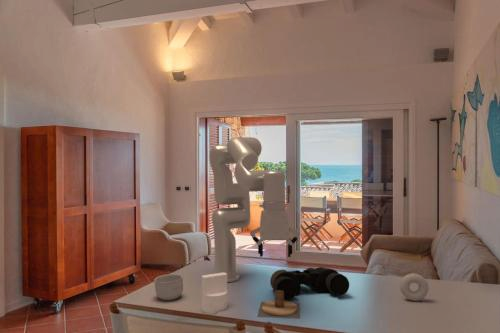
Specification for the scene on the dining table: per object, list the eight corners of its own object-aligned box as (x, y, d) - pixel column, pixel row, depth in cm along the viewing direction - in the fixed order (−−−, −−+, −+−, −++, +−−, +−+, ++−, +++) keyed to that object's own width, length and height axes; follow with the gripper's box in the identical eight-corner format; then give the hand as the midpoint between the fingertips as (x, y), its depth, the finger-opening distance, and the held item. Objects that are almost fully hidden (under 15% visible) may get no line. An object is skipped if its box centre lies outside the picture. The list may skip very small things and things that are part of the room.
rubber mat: (261, 304, 143) (261, 301, 143) (299, 305, 141) (299, 303, 141) (257, 319, 129) (257, 316, 129) (299, 320, 127) (299, 318, 127)
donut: (427, 299, 145) (427, 272, 145) (429, 303, 142) (429, 275, 142) (399, 298, 148) (398, 271, 147) (400, 301, 144) (400, 274, 144)
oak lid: (263, 302, 142) (263, 285, 142) (297, 304, 140) (296, 286, 140) (260, 315, 130) (260, 296, 130) (296, 317, 128) (296, 298, 128)
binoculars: (277, 304, 142) (276, 276, 142) (263, 290, 162) (262, 266, 162) (350, 297, 148) (349, 271, 148) (328, 285, 168) (327, 262, 168)
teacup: (176, 303, 144) (176, 282, 144) (149, 301, 147) (149, 280, 147) (190, 291, 158) (189, 271, 158) (164, 290, 160) (164, 270, 160)
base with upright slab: (207, 315, 133) (207, 280, 133) (198, 306, 141) (198, 273, 141) (231, 310, 137) (231, 276, 137) (221, 302, 145) (221, 270, 145)
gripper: (248, 207, 133) (249, 258, 133) (299, 207, 130) (300, 258, 130) (251, 205, 140) (251, 253, 140) (299, 205, 138) (300, 254, 138)
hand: (275, 256), depth 135 cm, fingers open, 9 cm apart
